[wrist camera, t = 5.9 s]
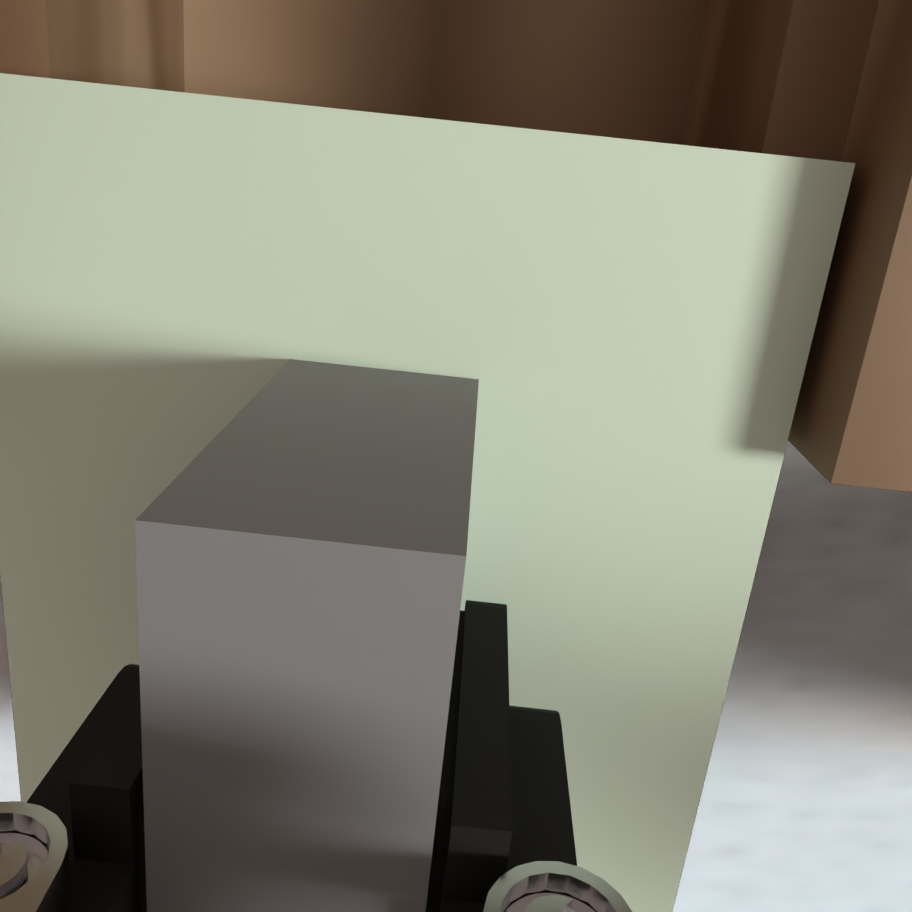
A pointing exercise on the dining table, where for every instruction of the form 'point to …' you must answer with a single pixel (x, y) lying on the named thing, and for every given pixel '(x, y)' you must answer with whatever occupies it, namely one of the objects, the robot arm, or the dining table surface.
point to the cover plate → (426, 276)
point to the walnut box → (589, 122)
